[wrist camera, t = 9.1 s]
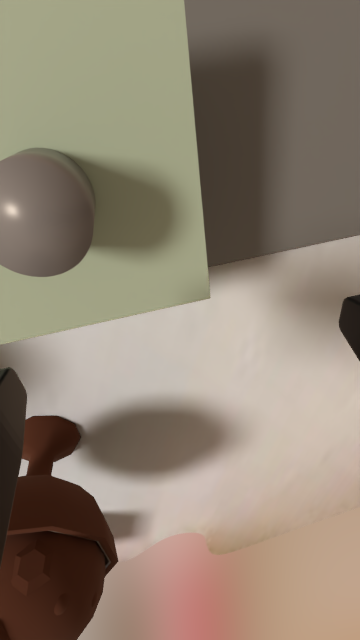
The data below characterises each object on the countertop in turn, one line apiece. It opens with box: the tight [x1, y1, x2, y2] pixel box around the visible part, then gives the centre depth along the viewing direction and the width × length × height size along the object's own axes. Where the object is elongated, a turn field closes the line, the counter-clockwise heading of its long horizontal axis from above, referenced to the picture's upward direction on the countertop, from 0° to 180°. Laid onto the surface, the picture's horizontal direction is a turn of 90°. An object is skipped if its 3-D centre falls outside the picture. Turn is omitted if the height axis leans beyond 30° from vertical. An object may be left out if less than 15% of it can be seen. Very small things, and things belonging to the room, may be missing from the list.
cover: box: [0, 0, 210, 345], centre depth 10 cm, size 11×11×4 cm
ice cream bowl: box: [0, 416, 118, 640], centre depth 20 cm, size 11×11×15 cm
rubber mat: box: [184, 0, 360, 267], centre depth 17 cm, size 13×13×1 cm
